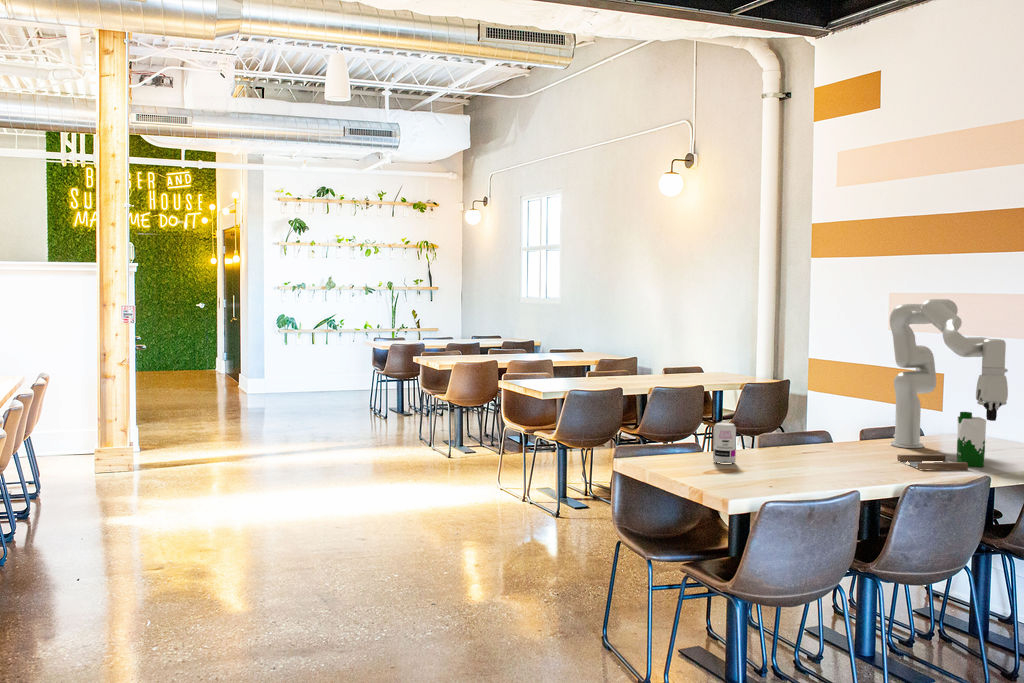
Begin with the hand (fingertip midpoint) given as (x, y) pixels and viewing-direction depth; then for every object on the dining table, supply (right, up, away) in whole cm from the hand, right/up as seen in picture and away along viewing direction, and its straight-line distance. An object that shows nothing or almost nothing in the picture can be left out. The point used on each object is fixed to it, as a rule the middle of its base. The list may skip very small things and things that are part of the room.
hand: (991, 420), depth 322 cm
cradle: (-22, -17, 0) cm, 28 cm away
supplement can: (-100, -17, +4) cm, 101 cm away
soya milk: (-8, -17, +1) cm, 19 cm away
